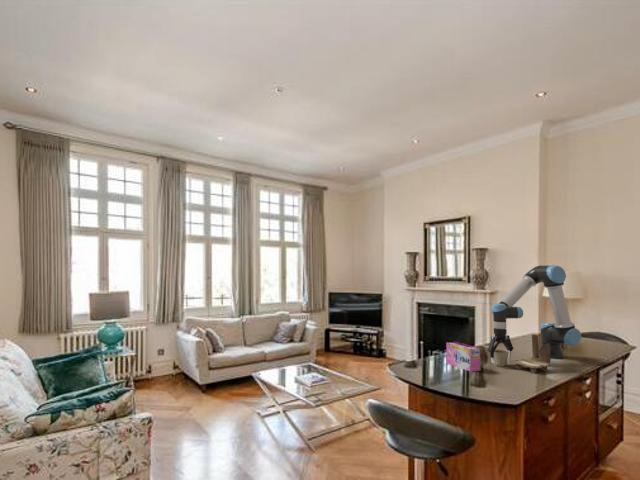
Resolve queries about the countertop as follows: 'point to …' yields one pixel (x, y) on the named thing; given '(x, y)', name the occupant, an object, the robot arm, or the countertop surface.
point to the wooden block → (544, 350)
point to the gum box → (463, 356)
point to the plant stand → (531, 364)
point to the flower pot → (501, 357)
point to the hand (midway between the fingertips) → (501, 361)
